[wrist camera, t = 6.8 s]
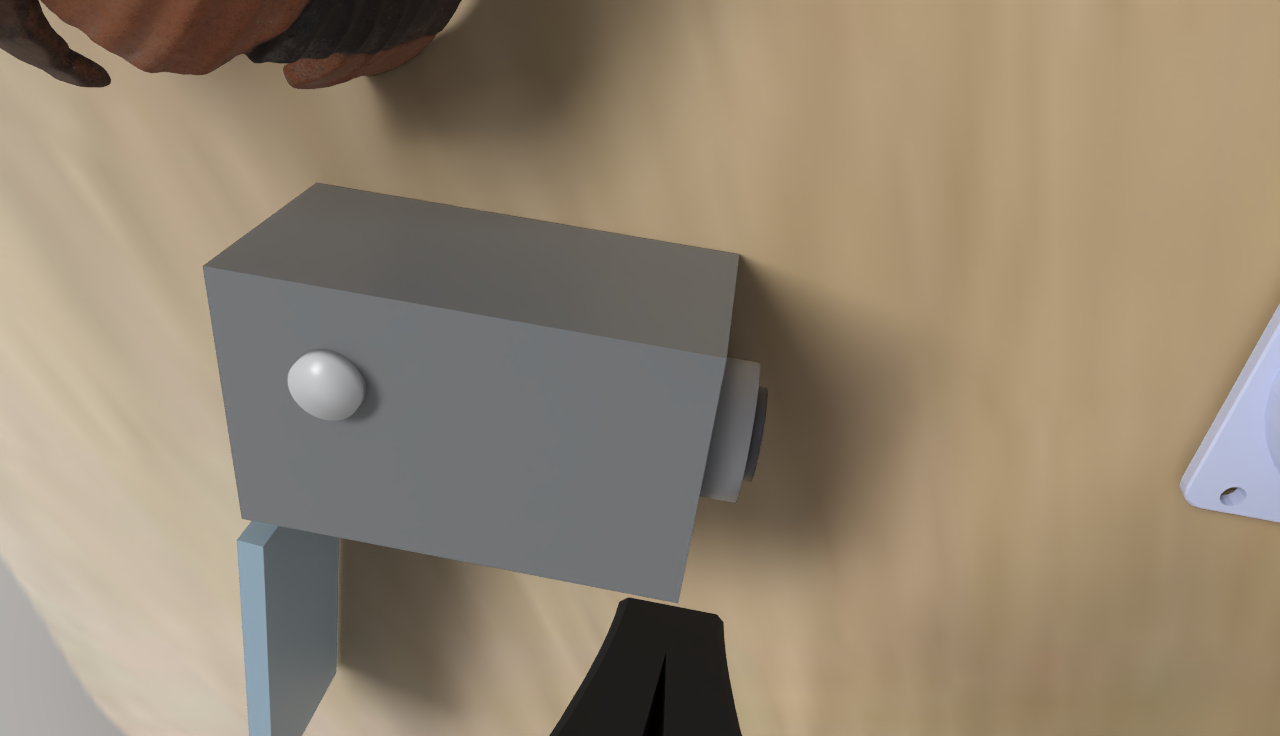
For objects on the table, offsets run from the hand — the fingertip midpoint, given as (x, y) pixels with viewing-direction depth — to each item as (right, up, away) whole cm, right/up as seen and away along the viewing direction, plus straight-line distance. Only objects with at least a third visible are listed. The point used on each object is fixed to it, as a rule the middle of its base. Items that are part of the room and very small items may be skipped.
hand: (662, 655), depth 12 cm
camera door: (-10, -2, +13) cm, 16 cm away
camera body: (-3, +5, +9) cm, 10 cm away
